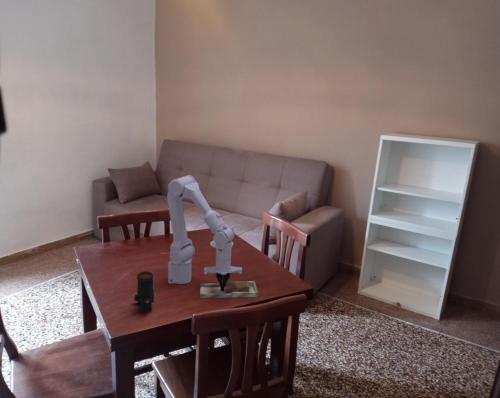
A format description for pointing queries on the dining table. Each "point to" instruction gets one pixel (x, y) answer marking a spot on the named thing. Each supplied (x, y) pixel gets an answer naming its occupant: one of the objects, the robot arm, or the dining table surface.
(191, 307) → the dining table surface
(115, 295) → the dining table surface
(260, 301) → the dining table surface
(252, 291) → the slot board
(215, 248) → the monster figurine
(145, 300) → the scope
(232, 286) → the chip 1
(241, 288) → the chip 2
